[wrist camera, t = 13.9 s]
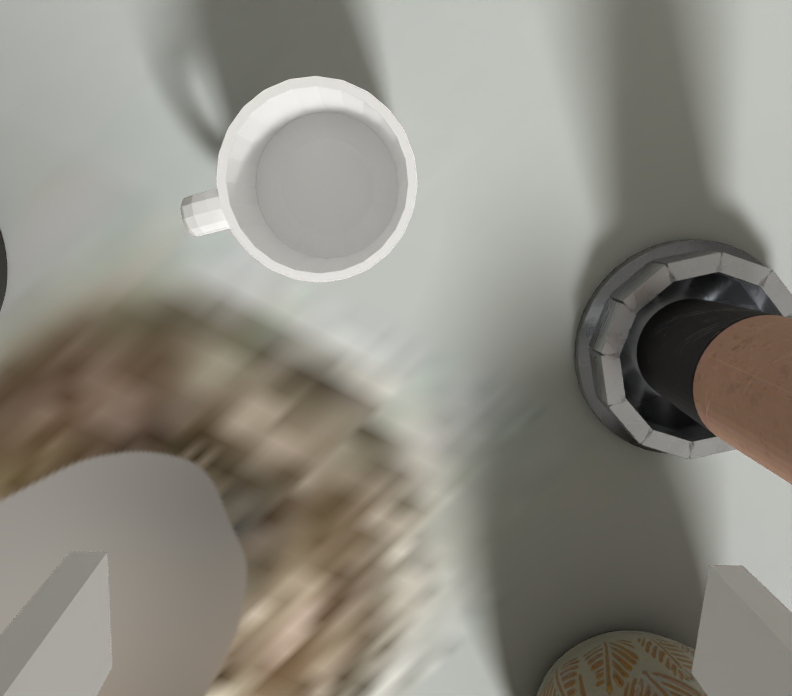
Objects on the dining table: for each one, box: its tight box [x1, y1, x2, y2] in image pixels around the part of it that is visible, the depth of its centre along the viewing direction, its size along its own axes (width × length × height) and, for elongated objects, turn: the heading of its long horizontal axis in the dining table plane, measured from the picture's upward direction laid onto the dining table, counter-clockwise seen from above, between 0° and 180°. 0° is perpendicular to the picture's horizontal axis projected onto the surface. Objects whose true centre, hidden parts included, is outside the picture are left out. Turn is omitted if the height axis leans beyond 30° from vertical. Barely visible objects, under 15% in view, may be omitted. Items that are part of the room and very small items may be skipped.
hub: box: [575, 240, 792, 459], centre depth 45 cm, size 15×15×4 cm
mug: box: [181, 76, 418, 283], centre depth 38 cm, size 13×10×10 cm
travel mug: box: [637, 298, 792, 484], centre depth 36 cm, size 8×8×20 cm
